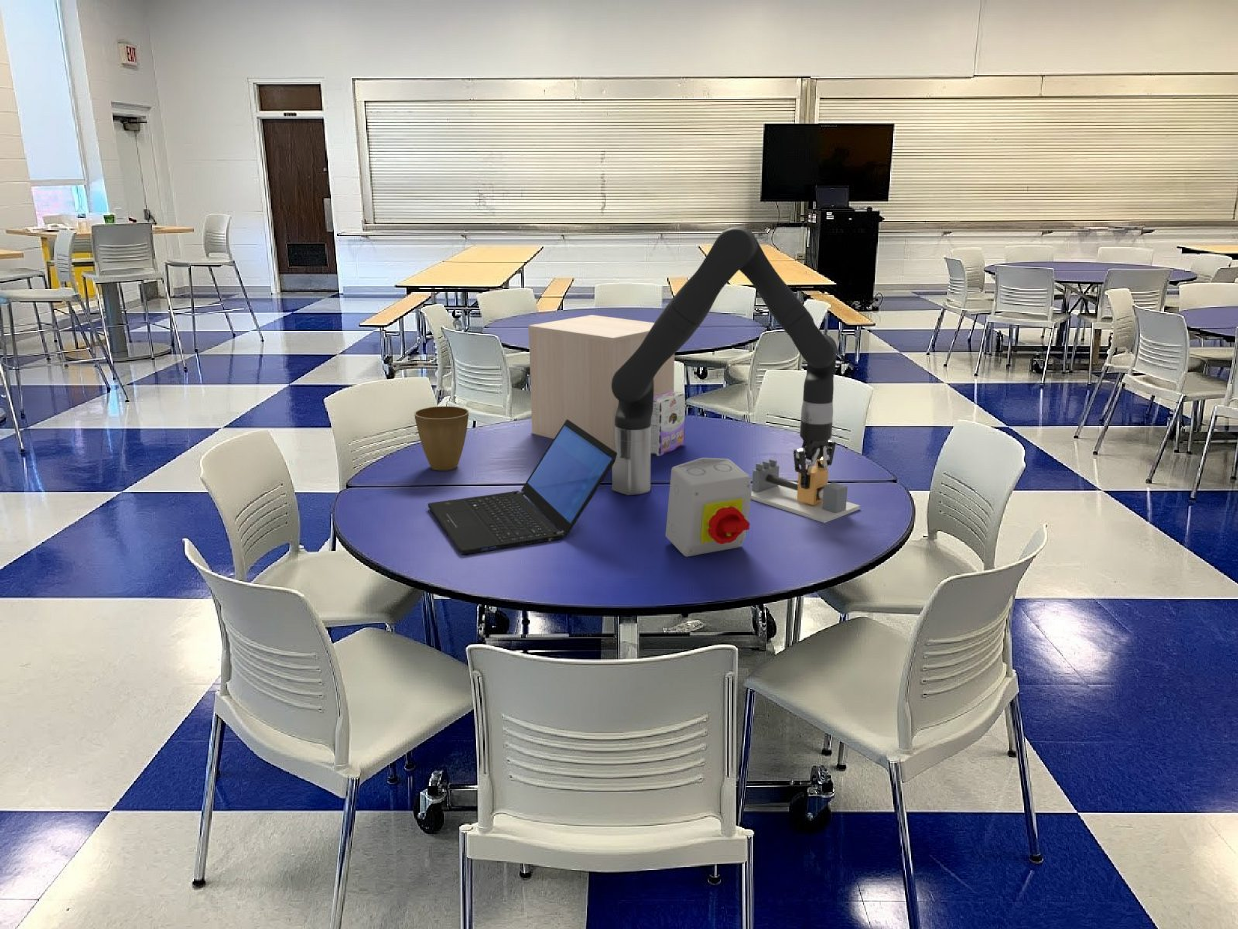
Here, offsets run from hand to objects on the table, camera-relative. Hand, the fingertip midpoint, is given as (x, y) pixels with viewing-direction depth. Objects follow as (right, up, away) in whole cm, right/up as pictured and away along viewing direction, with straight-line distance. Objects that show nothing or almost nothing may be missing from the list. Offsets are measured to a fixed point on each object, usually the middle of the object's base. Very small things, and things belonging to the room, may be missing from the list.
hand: (812, 485), depth 232 cm
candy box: (-34, +9, +50) cm, 61 cm away
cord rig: (-2, -4, +4) cm, 6 cm away
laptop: (-71, -9, -6) cm, 72 cm away
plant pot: (-97, +4, +34) cm, 103 cm away
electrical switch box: (-27, -14, -25) cm, 40 cm away
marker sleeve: (0, -4, +1) cm, 4 cm away
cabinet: (-53, +15, +67) cm, 87 cm away
